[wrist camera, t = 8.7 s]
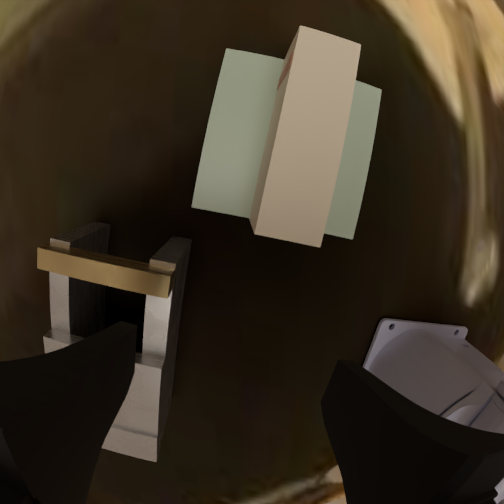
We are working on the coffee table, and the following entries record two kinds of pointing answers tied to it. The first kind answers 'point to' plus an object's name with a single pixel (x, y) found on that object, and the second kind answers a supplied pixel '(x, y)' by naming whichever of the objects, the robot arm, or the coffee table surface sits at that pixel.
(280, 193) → the beige rectangular block
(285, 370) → the coffee table surface
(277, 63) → the pad
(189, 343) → the coffee table surface
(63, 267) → the frame
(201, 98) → the coffee table surface
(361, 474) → the robot arm
